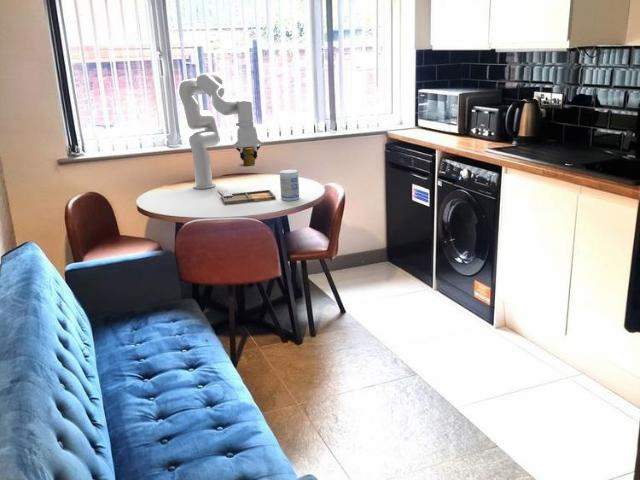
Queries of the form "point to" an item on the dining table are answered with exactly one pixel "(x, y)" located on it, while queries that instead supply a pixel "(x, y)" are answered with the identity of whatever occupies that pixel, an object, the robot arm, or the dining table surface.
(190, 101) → the robot arm
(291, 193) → the supplement tub
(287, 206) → the dining table surface
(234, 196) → the divided wooden tray
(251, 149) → the condiment
